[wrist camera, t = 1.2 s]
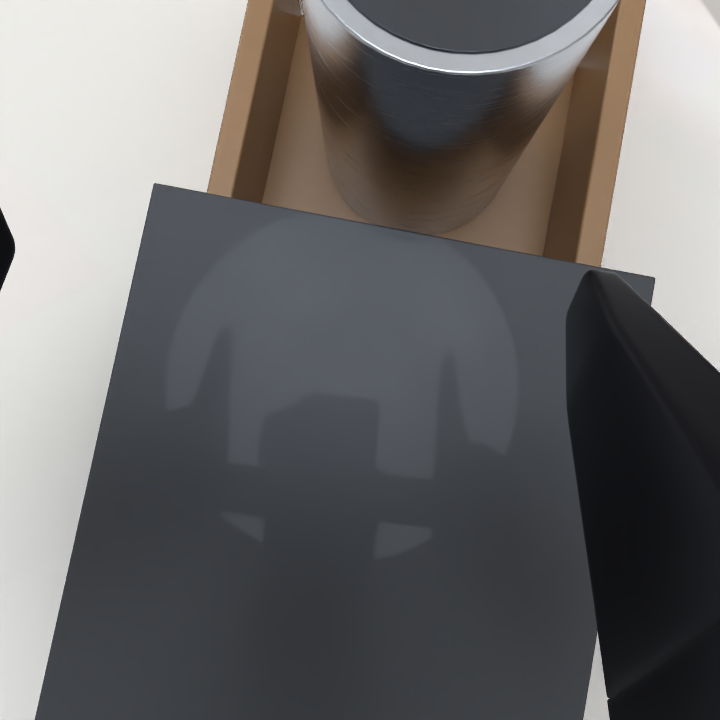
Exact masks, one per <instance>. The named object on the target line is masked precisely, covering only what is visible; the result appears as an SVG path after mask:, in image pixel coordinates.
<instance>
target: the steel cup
mask: <svg viewBox="0 0 720 720" xmlns="http://www.w3.org/2000/svg"><path fill="white" fill-rule="evenodd" d="M619 1H620V0H302V6H303V12H304V19H305V25H306V31H307V38H308V44H309V50H310V57H311V63H312V69H313V76H314V82H315V88H316V95H317V101H318V107H319V114H320V120H321V126H322V133H323V139H324V145H325V152H326V158H327V163H328V167H329V171H330V174H331V177H332V179H333V182H334V184H335V186H336V188H337V190H338V192H339V193H340V195H341V196H342V197H343V199H344V200H345V202H346V203H347V204H348V205H349V206H350V207H351V208H352V209H353V210H354V211H355V212H356V213H357V214H358V215H360V216H361V217H362V218H363V219H365V220H366V221H368V222H370V223H371V224H374V225H379V226H384V227H390V228H395V229H400V230H406V231H411V232H416V233H422V234H427V235H436V234H440V233H445V232H448V231H451V230H453V229H456V228H458V227H460V226H462V225H464V224H466V223H468V222H469V221H471V220H472V219H473V218H475V217H476V216H478V215H479V214H480V213H481V212H482V211H483V210H484V209H485V208H486V207H487V206H488V205H489V204H490V202H491V201H492V200H493V199H494V197H495V196H496V194H497V193H498V191H499V190H500V188H501V186H502V185H503V183H504V182H505V180H506V179H507V177H508V175H509V174H510V172H511V171H512V169H513V168H514V166H515V164H516V163H517V161H518V160H519V158H520V156H521V155H522V153H523V152H524V150H525V149H526V147H527V145H528V144H529V142H530V141H531V139H532V138H533V136H534V134H535V133H536V131H537V130H538V128H539V127H540V125H541V123H542V122H543V120H544V119H545V117H546V116H547V114H548V112H549V111H550V109H551V108H552V106H553V105H554V103H555V101H556V100H557V98H558V97H559V95H560V93H561V92H562V90H563V89H564V87H565V86H566V84H567V82H568V81H569V79H570V78H571V76H572V75H573V73H574V71H575V70H576V68H577V67H578V65H579V64H580V62H581V60H582V59H583V57H584V56H585V54H586V53H587V51H588V49H589V48H590V46H591V45H592V43H593V42H594V40H595V38H596V37H597V35H598V34H599V32H600V30H601V29H602V27H603V26H604V24H605V23H606V21H607V19H608V18H609V16H610V15H611V13H612V12H613V10H614V8H615V7H616V5H617V4H618V2H619Z"/></svg>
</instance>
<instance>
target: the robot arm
mask: <svg viewBox="0 0 720 720" xmlns="http://www.w3.org/2000/svg"><path fill="white" fill-rule="evenodd" d="M14 254H15V243H14V239H13V236H12V234H11V232H10V229H9V227H8V225H7V222H6V220H5V218H4V215H3V213H2V211H1V208H0V291H1V288H2V285H3V283H4V280H5V278H6V275H7V273H8V270H9V268H10V265H11V263H12V260H13V258H14ZM565 327H566V405H567V416H568V424H569V431H570V438H571V445H572V452H573V460H574V467H575V474H576V481H577V488H578V495H579V502H580V509H581V516H582V523H583V530H584V537H585V544H586V552H587V559H588V566H589V573H590V580H591V587H592V594H593V601H594V608H595V615H596V622H597V629H598V636H599V644H600V651H601V658H602V665H603V672H604V679H605V686H606V693H607V697H608V698H610V699H608V701H607V703H608V710H609V717H610V720H720V372H719V371H718V370H717V369H716V368H715V367H714V366H713V365H711V364H710V363H709V362H708V361H707V360H706V359H705V358H704V357H703V356H702V355H701V354H700V353H699V352H698V351H697V350H696V349H695V348H694V347H693V346H692V345H691V344H690V343H689V342H688V341H687V340H686V339H685V338H683V337H682V336H681V335H680V334H679V333H678V332H677V331H676V330H675V329H674V328H673V327H672V326H671V325H670V324H669V323H668V322H667V321H666V320H665V319H664V318H663V317H662V316H661V315H660V314H659V313H658V312H657V311H655V310H654V309H653V308H652V307H651V306H650V305H649V304H648V303H647V302H646V301H645V300H644V299H643V298H642V297H641V296H640V295H639V294H638V293H637V292H636V291H635V290H634V289H633V288H632V287H631V286H630V285H629V284H627V283H626V282H625V281H624V280H623V279H622V278H621V277H620V276H619V275H618V274H617V273H615V272H609V271H601V270H589V271H587V272H586V273H585V274H584V276H583V278H582V280H581V282H580V284H579V286H578V289H577V291H576V293H575V295H574V298H573V300H572V302H571V304H570V307H569V309H568V312H567V316H566V325H565Z"/></svg>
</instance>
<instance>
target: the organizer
mask: <svg viewBox="0 0 720 720" xmlns="http://www.w3.org/2000/svg"><path fill="white" fill-rule="evenodd" d="M589 270H601V271H609V272H615V273H617V274H618V275H619V276H620V277H621V278H622V279H623V280H624V281H625V282H626V283H627V284H629V285H630V286H631V287H632V288H633V289H634V290H635V291H636V292H637V293H638V294H639V295H640V296H641V297H642V298H643V299H644V300H645V301H646V302H647V303H648V304H649V305H650V306H651V302H652V296H653V290H654V284H655V278H654V277H649V276H644V275H639V274H633V273H628V272H623V271H617V270H612V269H607V268H602V267H596V266H591V265H586V264H580V263H575V262H570V261H564V260H559V259H554V258H549V257H543V256H538V255H533V254H527V253H522V252H517V251H512V250H506V249H501V248H496V247H490V246H485V245H480V244H474V243H469V242H464V241H459V240H453V239H448V238H443V237H437V236H432V235H427V234H422V233H416V232H411V231H406V230H400V229H395V228H390V227H384V226H379V225H374V224H369V223H363V222H358V221H353V220H347V219H342V218H337V217H331V216H326V215H321V214H316V213H310V212H305V211H300V210H294V209H289V208H284V207H279V206H273V205H268V204H263V203H257V202H252V201H247V200H241V199H236V198H231V197H226V196H220V195H215V194H210V193H204V192H199V191H194V190H189V189H183V188H178V187H173V186H167V185H162V184H157V183H155V184H154V185H153V190H152V194H151V199H150V203H149V208H148V212H147V217H146V221H145V226H144V230H143V235H142V239H141V244H140V248H139V253H138V257H137V262H136V266H135V271H134V275H133V280H132V284H131V289H130V293H129V298H128V302H127V307H126V311H125V316H124V320H123V325H122V329H121V334H120V338H119V343H118V347H117V352H116V356H115V361H114V365H113V370H112V375H111V379H110V384H109V388H108V393H107V397H106V402H105V406H104V411H103V415H102V420H101V424H100V429H99V433H98V438H97V442H96V447H95V451H94V456H93V460H92V465H91V469H90V474H89V478H88V483H87V487H86V492H85V496H84V501H83V505H82V510H81V514H80V519H79V523H78V528H77V532H76V537H75V541H74V546H73V550H72V555H71V559H70V564H69V568H68V573H67V577H66V582H65V586H64V591H63V595H62V600H61V604H60V609H59V613H58V618H57V622H56V627H55V631H54V636H53V640H52V645H51V649H50V654H49V658H48V663H47V667H46V672H45V676H44V681H43V685H42V690H41V694H40V699H39V703H38V708H37V712H36V717H35V720H583V716H584V710H585V704H586V698H587V692H588V686H589V680H590V674H591V668H592V661H593V655H594V649H595V643H596V637H597V631H598V629H597V622H596V615H595V608H594V601H593V594H592V587H591V580H590V573H589V566H588V559H587V552H586V544H585V537H584V530H583V523H582V516H581V509H580V502H579V495H578V488H577V481H576V474H575V467H574V460H573V452H572V445H571V438H570V431H569V424H568V416H567V405H566V327H565V325H566V316H567V312H568V309H569V307H570V304H571V302H572V300H573V298H574V295H575V293H576V291H577V289H578V286H579V284H580V282H581V280H582V278H583V276H584V274H585V273H586V272H587V271H589Z"/></svg>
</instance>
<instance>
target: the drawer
mask: <svg viewBox="0 0 720 720" xmlns="http://www.w3.org/2000/svg"><path fill="white" fill-rule="evenodd" d="M645 4H646V0H620V1H619V2H618V4H617V5H616V7H615V8H614V10H613V12H612V13H611V15H610V16H609V18H608V19H607V21H606V23H605V24H604V26H603V27H602V29H601V30H600V32H599V34H598V35H597V37H596V38H595V40H594V42H593V43H592V45H591V46H590V48H589V49H588V51H587V53H586V54H585V56H584V57H583V59H582V60H581V62H580V64H579V65H578V67H577V68H576V70H575V71H574V73H573V75H572V76H571V78H570V79H569V81H568V82H567V84H566V86H565V87H564V89H563V90H562V92H561V93H560V95H559V97H558V98H557V100H556V101H555V103H554V105H553V106H552V108H551V109H550V111H549V112H548V114H547V116H546V117H545V119H544V120H543V122H542V123H541V125H540V127H539V128H538V130H537V131H536V133H535V134H534V136H533V138H532V139H531V141H530V142H529V144H528V145H527V147H526V149H525V150H524V152H523V153H522V155H521V156H520V158H519V160H518V161H517V163H516V164H515V166H514V168H513V169H512V171H511V172H510V174H509V175H508V177H507V179H506V180H505V182H504V183H503V185H502V186H501V188H500V190H499V191H498V193H497V194H496V196H495V197H494V199H493V200H492V201H491V202H490V204H489V205H488V206H487V207H486V208H485V209H484V210H483V211H482V212H481V213H480V214H479V215H478V216H476V217H475V218H473V219H472V220H471V221H469V222H468V223H466V224H464V225H462V226H460V227H458V228H456V229H453V230H451V231H448V232H445V233H440V234H436V235H432V236H437V237H443V238H448V239H453V240H459V241H464V242H469V243H474V244H480V245H485V246H490V247H496V248H501V249H506V250H512V251H517V252H522V253H527V254H533V255H538V256H543V257H549V258H554V259H559V260H564V261H570V262H575V263H580V264H586V265H591V266H596V267H601V262H602V256H603V250H604V244H605V238H606V232H607V227H608V221H609V215H610V209H611V203H612V197H613V191H614V186H615V180H616V174H617V168H618V162H619V156H620V150H621V145H622V139H623V133H624V127H625V121H626V115H627V109H628V103H629V98H630V92H631V86H632V80H633V74H634V68H635V62H636V57H637V51H638V45H639V39H640V33H641V27H642V21H643V15H644V10H645ZM207 193H210V194H215V195H220V196H226V197H231V198H236V199H241V200H247V201H252V202H257V203H263V204H268V205H273V206H279V207H284V208H289V209H294V210H300V211H305V212H310V213H316V214H321V215H326V216H331V217H337V218H342V219H347V220H353V221H358V222H363V223H369V224H371V223H370V222H368V221H366V220H365V219H363V218H362V217H361V216H360V215H358V214H357V213H356V212H355V211H354V210H353V209H352V208H351V207H350V206H349V205H348V204H347V203H346V202H345V200H344V199H343V197H342V196H341V195H340V193H339V192H338V190H337V188H336V186H335V184H334V182H333V179H332V177H331V174H330V171H329V167H328V163H327V158H326V152H325V145H324V139H323V133H322V126H321V120H320V114H319V107H318V101H317V95H316V88H315V82H314V76H313V69H312V63H311V57H310V50H309V44H308V38H307V31H306V25H305V19H304V16H301V11H300V5H299V0H248V4H247V8H246V13H245V18H244V22H243V27H242V32H241V36H240V41H239V46H238V50H237V55H236V59H235V64H234V69H233V73H232V78H231V83H230V87H229V92H228V96H227V101H226V106H225V110H224V115H223V120H222V124H221V129H220V133H219V138H218V143H217V147H216V152H215V157H214V161H213V166H212V171H211V175H210V180H209V184H208V189H207Z"/></svg>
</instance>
